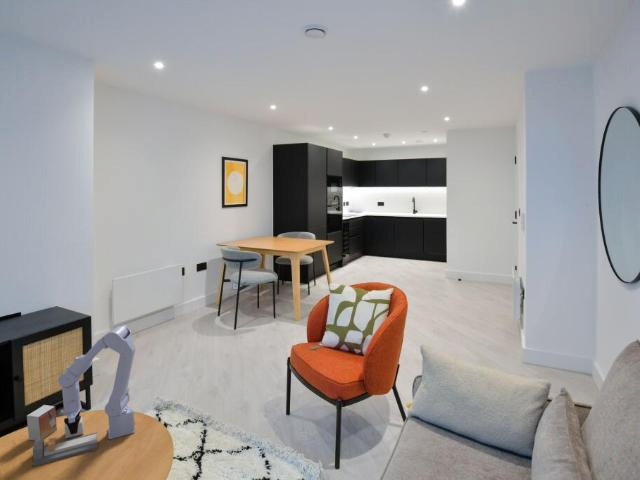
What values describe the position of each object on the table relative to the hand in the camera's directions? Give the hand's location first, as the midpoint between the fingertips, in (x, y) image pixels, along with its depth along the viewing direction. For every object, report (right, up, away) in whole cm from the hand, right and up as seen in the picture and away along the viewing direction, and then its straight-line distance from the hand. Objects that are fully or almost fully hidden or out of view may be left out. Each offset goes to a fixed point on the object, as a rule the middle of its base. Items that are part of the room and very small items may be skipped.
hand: (74, 429), depth 160 cm
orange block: (-1, -1, -12) cm, 12 cm away
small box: (-12, -2, -1) cm, 12 cm away
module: (0, -1, 0) cm, 1 cm away
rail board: (+3, -3, -9) cm, 10 cm away
